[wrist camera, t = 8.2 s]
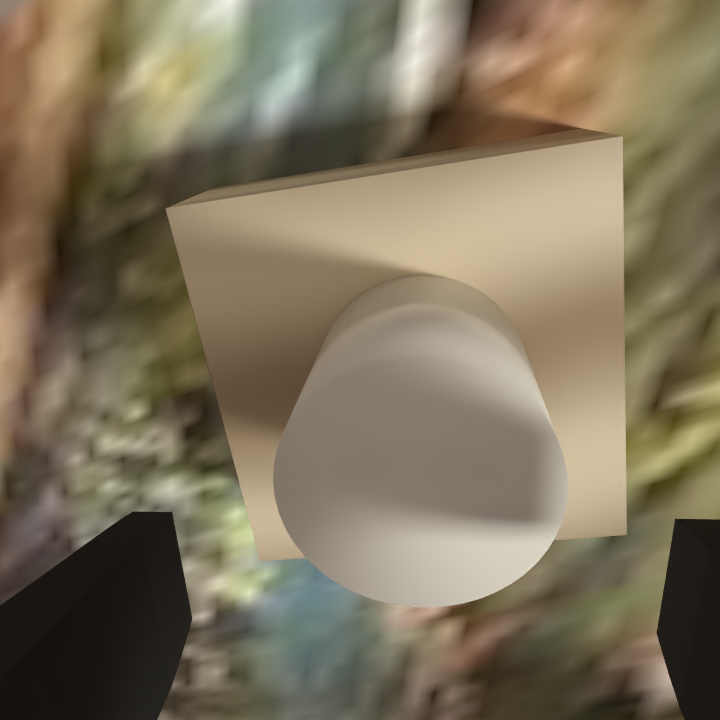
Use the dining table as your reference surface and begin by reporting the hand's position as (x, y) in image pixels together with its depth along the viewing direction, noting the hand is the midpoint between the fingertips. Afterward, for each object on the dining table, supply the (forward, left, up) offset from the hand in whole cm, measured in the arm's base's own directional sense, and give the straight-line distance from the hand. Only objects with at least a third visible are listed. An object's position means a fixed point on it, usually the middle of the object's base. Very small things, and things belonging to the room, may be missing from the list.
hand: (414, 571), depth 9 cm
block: (0, 0, -11) cm, 11 cm away
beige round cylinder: (0, 0, -7) cm, 7 cm away
